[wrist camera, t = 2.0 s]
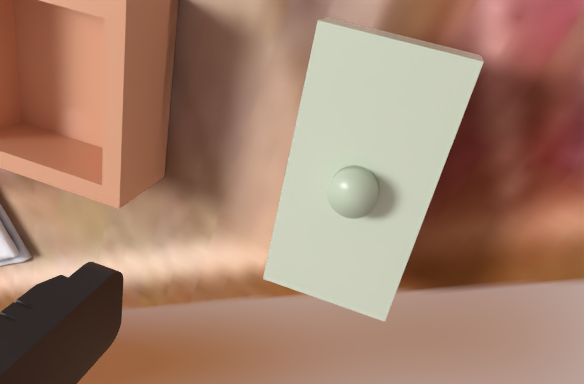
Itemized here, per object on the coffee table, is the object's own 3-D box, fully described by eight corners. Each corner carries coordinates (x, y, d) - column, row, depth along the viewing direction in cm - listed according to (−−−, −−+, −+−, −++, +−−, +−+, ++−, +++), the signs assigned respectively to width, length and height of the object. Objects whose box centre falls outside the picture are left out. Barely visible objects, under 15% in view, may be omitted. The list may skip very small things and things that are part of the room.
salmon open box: (179, -6, 23) (126, -2, 19) (164, 176, 28) (119, 208, 24) (6, -49, 25) (-75, -54, 21) (19, 129, 29) (-45, 152, 25)
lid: (480, 55, 18) (485, 65, 16) (388, 300, 23) (382, 333, 21) (327, 17, 19) (312, 22, 17) (273, 261, 24) (257, 288, 22)
